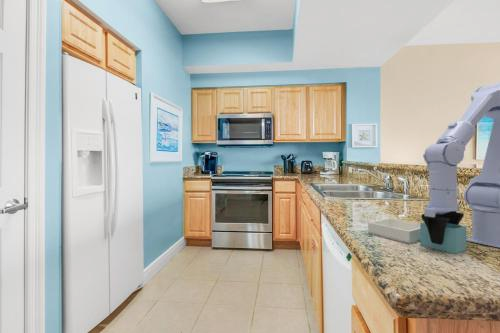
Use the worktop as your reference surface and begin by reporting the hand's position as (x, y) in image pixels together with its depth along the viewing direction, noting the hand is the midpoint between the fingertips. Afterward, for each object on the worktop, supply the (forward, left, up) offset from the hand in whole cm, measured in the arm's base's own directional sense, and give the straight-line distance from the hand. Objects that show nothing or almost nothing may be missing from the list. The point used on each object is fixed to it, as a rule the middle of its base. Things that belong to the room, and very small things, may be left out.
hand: (442, 241), depth 65 cm
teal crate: (0, 0, -2) cm, 2 cm away
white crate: (-1, -12, -2) cm, 12 cm away
